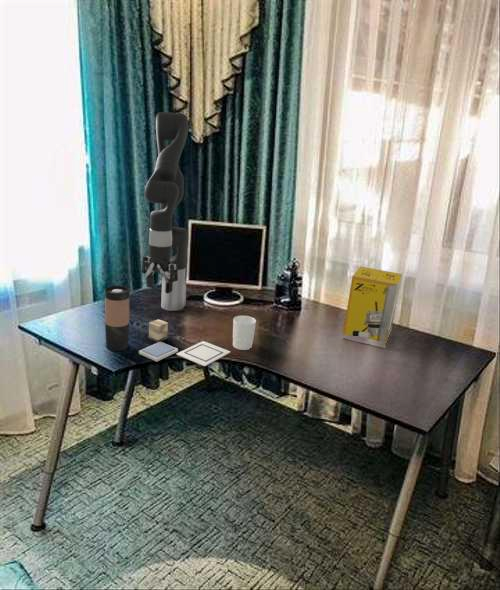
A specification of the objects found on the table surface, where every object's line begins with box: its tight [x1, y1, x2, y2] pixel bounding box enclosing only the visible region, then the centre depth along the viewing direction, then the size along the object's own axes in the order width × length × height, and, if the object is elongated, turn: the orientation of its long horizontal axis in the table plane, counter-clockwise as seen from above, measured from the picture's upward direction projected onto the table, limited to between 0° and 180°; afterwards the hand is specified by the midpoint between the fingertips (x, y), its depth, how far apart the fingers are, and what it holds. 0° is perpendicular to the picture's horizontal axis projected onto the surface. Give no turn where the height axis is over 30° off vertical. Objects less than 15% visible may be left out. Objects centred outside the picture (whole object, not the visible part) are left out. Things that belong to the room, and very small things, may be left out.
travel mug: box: [104, 285, 130, 352], centre depth 159 cm, size 8×8×20 cm
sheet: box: [175, 340, 231, 367], centre depth 163 cm, size 14×12×1 cm
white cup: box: [232, 315, 257, 351], centre depth 170 cm, size 8×8×10 cm
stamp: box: [147, 319, 169, 343], centre depth 170 cm, size 5×5×6 cm
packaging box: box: [342, 266, 404, 344], centre depth 186 cm, size 16×16×25 cm
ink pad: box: [138, 341, 179, 363], centre depth 161 cm, size 10×8×1 cm
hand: (159, 289), depth 165 cm, fingers open, 8 cm apart
